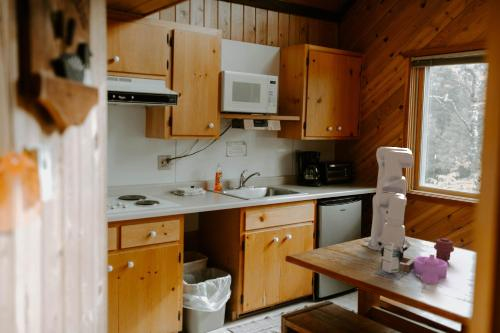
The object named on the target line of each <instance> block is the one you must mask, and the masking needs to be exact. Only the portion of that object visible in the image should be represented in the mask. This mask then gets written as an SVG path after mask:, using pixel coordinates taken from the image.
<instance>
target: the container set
mask: <svg viewBox="0 0 500 333" xmlns="http://www.w3.org/2000/svg"><path fill="white" fill-rule="evenodd" d="M447 271H448V263H447V262H445V261H443V260H440V259H437V258H436V254H435V255H434V254H429V256H416V257H414V268H413V269H412V272H413V274H414V275H416V274H417V275H416V276H418V275H419V277H420V278H421V280H422V282H423V283H424V284H426V285H435V284H437V283H438V281H439V280H444V279H446V278H447Z"/></svg>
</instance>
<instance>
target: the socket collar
mask: <svg viewBox="0 0 500 333" xmlns="http://www.w3.org/2000/svg"><path fill="white" fill-rule="evenodd" d="M414 259H415V257H414V258H413V257H408V256H404V255H403V259H401V260H400V266H399V271H400V272H401V271H402V272H404V273H405V272H406V274H409V273H410V272H411V271H413V268H414ZM380 265H381V266H380V267H381V268H382V266H383V258H382V259H381V264H380Z"/></svg>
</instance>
